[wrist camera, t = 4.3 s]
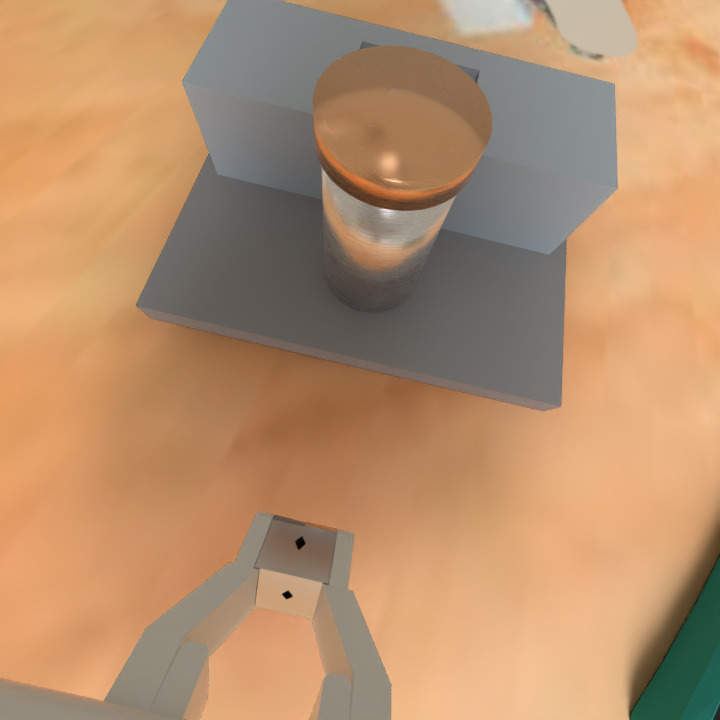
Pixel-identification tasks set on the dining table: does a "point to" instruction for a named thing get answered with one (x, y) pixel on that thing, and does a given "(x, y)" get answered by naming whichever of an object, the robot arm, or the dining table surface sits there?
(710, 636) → the digital multimeter
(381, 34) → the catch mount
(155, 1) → the dining table surface
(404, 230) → the lidded glass jar
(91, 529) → the dining table surface
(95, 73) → the dining table surface
